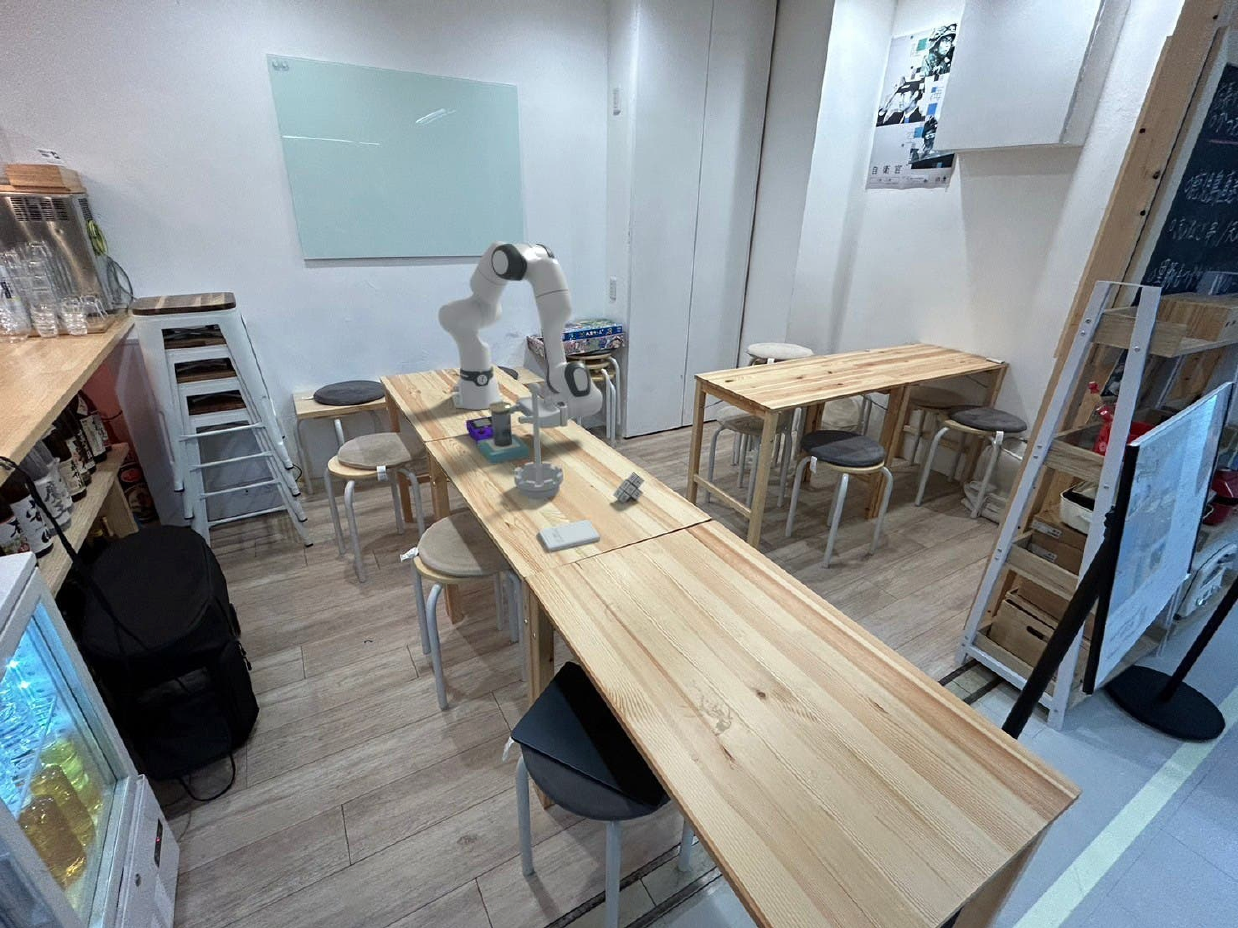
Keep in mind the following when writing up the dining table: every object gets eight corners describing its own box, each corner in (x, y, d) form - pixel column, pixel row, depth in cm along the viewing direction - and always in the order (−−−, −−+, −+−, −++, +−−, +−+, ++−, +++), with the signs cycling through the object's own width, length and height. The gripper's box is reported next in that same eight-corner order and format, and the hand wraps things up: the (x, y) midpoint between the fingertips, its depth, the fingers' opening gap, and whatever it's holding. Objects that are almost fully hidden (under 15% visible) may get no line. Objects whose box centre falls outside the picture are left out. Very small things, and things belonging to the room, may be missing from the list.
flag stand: (565, 499, 143) (562, 390, 131) (514, 502, 141) (506, 391, 128) (561, 477, 155) (559, 374, 142) (515, 479, 153) (507, 375, 140)
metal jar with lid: (489, 441, 168) (486, 403, 163) (509, 437, 171) (506, 400, 166) (496, 448, 164) (493, 410, 158) (516, 444, 167) (514, 406, 161)
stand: (478, 449, 171) (477, 440, 169) (514, 442, 176) (514, 432, 175) (491, 464, 161) (490, 454, 160) (529, 456, 167) (528, 446, 166)
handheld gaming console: (480, 439, 170) (465, 419, 180) (481, 454, 172) (466, 433, 183) (509, 434, 174) (492, 414, 185) (509, 448, 177) (493, 428, 187)
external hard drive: (600, 541, 127) (548, 553, 122) (587, 524, 134) (538, 535, 129) (600, 536, 126) (548, 547, 122) (587, 518, 133) (538, 529, 128)
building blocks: (630, 508, 144) (649, 485, 144) (617, 499, 141) (637, 475, 141) (620, 499, 148) (639, 476, 148) (608, 490, 145) (627, 466, 145)
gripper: (541, 389, 179) (500, 396, 172) (568, 408, 163) (525, 416, 157) (541, 407, 182) (501, 414, 175) (569, 428, 166) (526, 436, 159)
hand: (513, 415), depth 166 cm, fingers open, 8 cm apart
